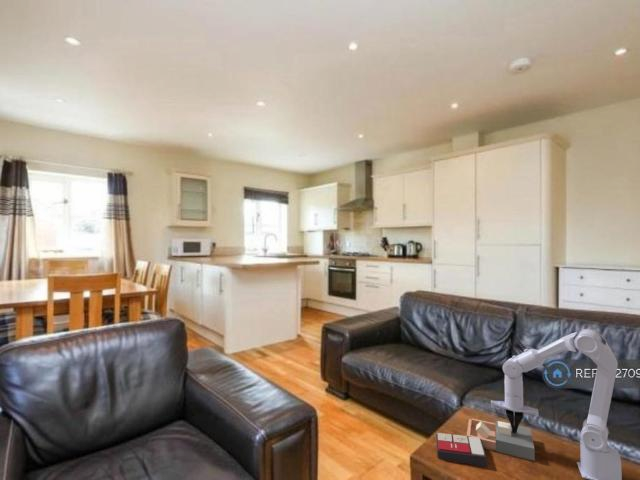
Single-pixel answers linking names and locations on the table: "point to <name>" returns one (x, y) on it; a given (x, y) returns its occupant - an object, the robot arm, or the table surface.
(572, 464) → the table surface
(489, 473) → the table surface
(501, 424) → the tile
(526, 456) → the grey rectangular block
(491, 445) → the box
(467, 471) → the table surface
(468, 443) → the calculator
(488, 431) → the tile
